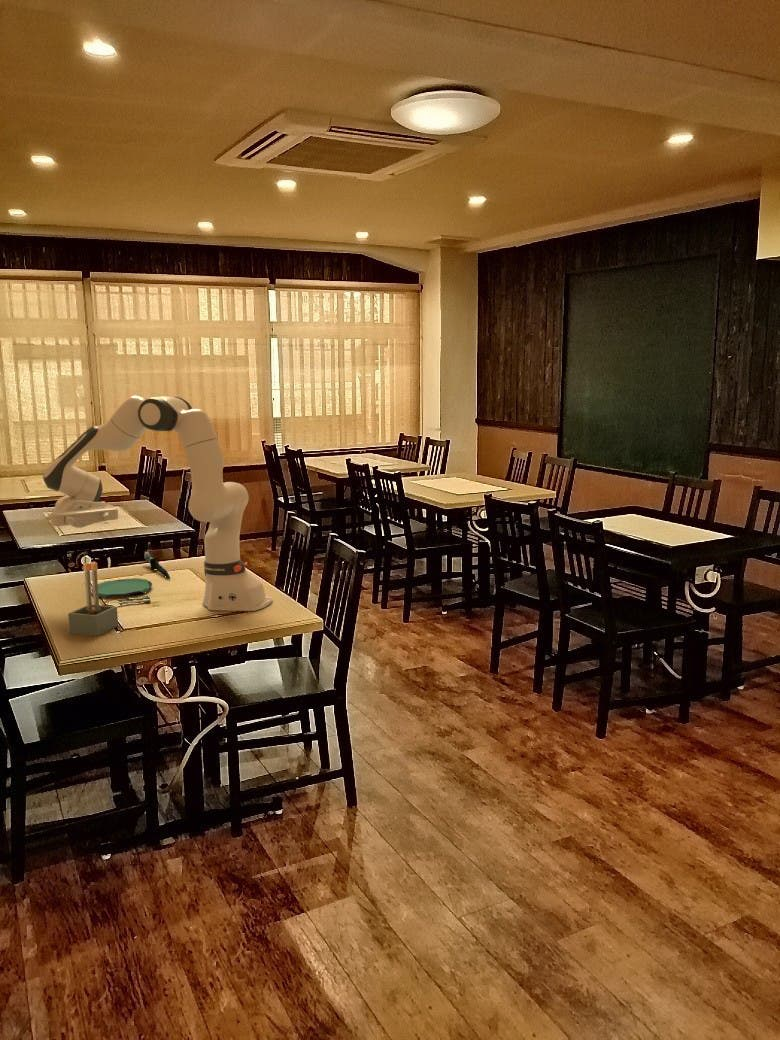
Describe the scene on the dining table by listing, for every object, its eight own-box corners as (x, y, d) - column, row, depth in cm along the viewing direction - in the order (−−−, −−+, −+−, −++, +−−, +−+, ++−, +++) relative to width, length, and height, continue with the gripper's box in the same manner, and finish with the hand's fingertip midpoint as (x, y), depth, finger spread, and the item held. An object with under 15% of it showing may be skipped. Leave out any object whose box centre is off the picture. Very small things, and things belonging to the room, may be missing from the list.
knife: (143, 561, 315) (143, 550, 314) (151, 559, 317) (150, 549, 315) (163, 586, 290) (162, 575, 288) (171, 585, 291) (171, 573, 290)
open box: (118, 625, 239) (116, 606, 238) (97, 636, 230) (96, 616, 229) (91, 623, 242) (89, 604, 240) (69, 633, 233) (68, 613, 231)
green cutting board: (150, 581, 290) (149, 575, 290) (157, 604, 263) (156, 597, 262) (92, 587, 283) (91, 581, 283) (93, 612, 256) (92, 605, 255)
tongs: (99, 623, 238) (95, 561, 235) (103, 626, 235) (99, 563, 232) (85, 625, 236) (81, 562, 233) (89, 628, 233) (85, 565, 230)
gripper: (43, 507, 251) (54, 513, 240) (109, 500, 263) (122, 506, 252) (45, 527, 252) (56, 534, 241) (110, 519, 264) (124, 525, 253)
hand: (90, 519), depth 246 cm, fingers open, 8 cm apart
